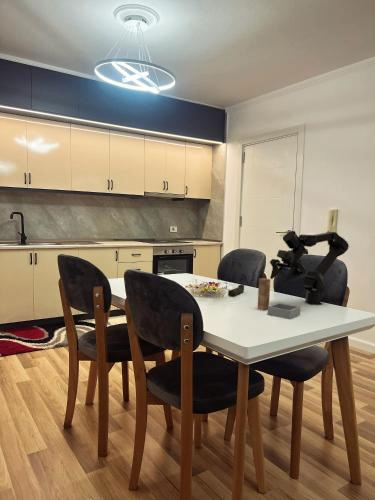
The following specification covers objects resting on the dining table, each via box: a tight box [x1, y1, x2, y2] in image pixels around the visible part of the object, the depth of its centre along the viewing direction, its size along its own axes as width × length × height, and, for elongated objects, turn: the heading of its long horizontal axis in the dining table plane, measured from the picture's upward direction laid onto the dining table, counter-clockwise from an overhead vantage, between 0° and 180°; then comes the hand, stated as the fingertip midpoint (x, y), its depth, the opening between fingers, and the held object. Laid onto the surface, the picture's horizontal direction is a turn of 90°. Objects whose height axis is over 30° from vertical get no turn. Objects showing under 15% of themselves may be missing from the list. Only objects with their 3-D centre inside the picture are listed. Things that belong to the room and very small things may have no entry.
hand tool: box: [227, 283, 245, 298], centre depth 206 cm, size 19×4×5 cm, turn 149°
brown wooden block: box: [257, 277, 271, 311], centre depth 172 cm, size 4×4×14 cm
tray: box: [267, 302, 302, 320], centre depth 163 cm, size 10×10×4 cm
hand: (277, 280), depth 175 cm, fingers open, 9 cm apart
